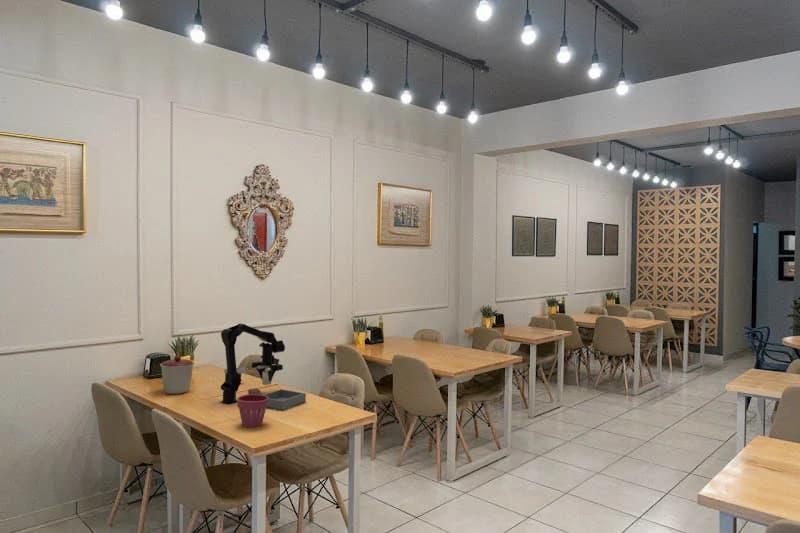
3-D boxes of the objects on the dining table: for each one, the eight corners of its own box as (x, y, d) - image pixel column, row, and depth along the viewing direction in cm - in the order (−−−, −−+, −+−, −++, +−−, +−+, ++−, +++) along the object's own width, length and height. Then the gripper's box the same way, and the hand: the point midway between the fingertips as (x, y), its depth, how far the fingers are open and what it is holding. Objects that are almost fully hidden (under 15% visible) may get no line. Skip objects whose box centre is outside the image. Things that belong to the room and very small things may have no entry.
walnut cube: (260, 399, 302) (260, 390, 302) (251, 400, 299) (251, 391, 299) (256, 397, 306) (256, 388, 306) (248, 398, 303) (248, 389, 303)
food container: (229, 387, 327) (230, 370, 327) (223, 385, 331) (224, 369, 331) (246, 383, 337) (247, 367, 337) (240, 382, 341) (241, 366, 341)
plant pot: (270, 420, 264) (271, 394, 264) (264, 429, 250) (265, 401, 250) (240, 419, 263) (241, 393, 263) (232, 428, 249) (233, 401, 249)
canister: (160, 389, 317) (161, 353, 317) (193, 387, 323) (194, 352, 323) (158, 397, 300) (159, 359, 300) (193, 395, 306) (194, 357, 306)
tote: (282, 411, 280) (282, 401, 280) (256, 406, 288) (256, 396, 288) (305, 402, 298) (305, 393, 298) (280, 397, 305) (281, 389, 305)
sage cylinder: (267, 385, 308) (267, 372, 308) (260, 384, 310) (260, 371, 310) (272, 383, 313) (273, 371, 313) (266, 382, 315) (266, 370, 315)
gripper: (289, 353, 314) (288, 380, 315) (264, 350, 323) (263, 376, 323) (276, 356, 304) (276, 384, 305) (251, 352, 313) (250, 379, 313)
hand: (266, 380), depth 312 cm, fingers closed on sage cylinder, 5 cm apart
